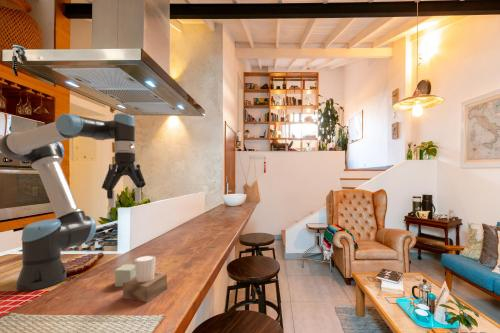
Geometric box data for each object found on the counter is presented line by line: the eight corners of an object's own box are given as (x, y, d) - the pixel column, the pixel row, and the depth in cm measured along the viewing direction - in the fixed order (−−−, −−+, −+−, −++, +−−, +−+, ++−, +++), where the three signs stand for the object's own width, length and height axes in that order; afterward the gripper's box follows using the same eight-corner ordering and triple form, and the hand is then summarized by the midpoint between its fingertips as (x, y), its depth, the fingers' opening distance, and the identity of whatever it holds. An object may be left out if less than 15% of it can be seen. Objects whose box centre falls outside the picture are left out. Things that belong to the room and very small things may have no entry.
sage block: (115, 286, 97) (114, 270, 97) (124, 279, 103) (124, 264, 103) (130, 286, 96) (130, 270, 96) (138, 280, 102) (138, 264, 102)
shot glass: (132, 284, 86) (132, 262, 86) (136, 276, 93) (136, 256, 93) (155, 281, 88) (154, 260, 88) (156, 273, 95) (156, 254, 95)
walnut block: (123, 298, 87) (122, 282, 87) (144, 285, 97) (144, 271, 97) (147, 302, 84) (147, 286, 84) (167, 288, 93) (166, 274, 93)
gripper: (105, 149, 94) (106, 209, 93) (153, 153, 117) (154, 201, 117) (90, 151, 96) (91, 209, 96) (140, 154, 120) (140, 201, 119)
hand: (125, 204), depth 106 cm, fingers open, 13 cm apart
